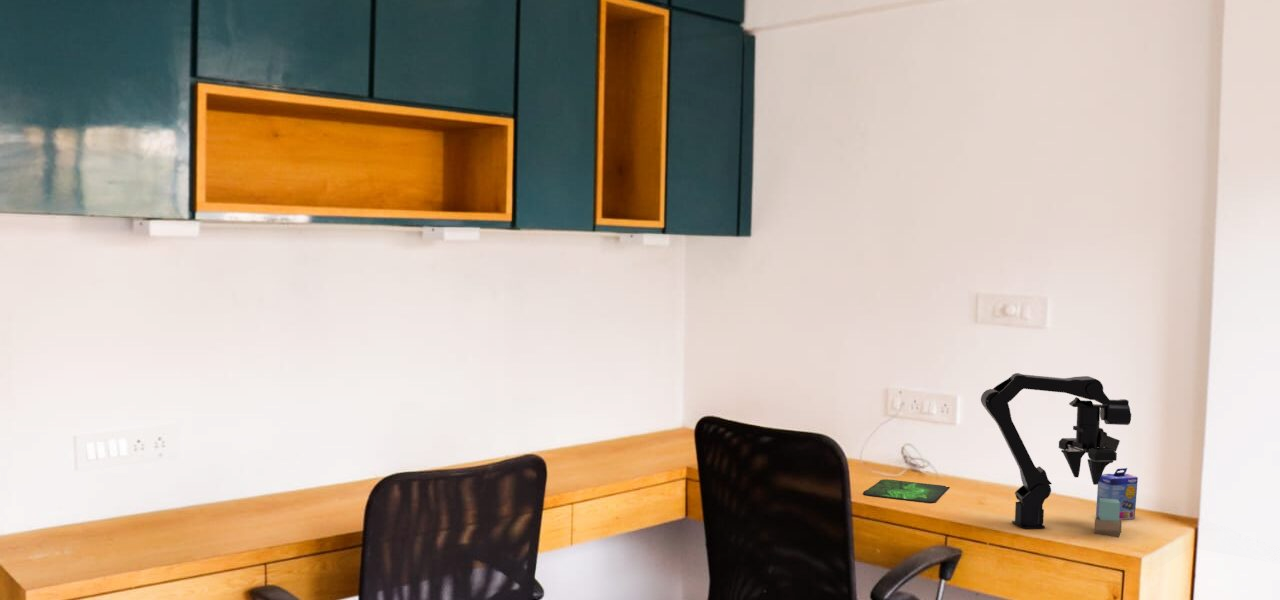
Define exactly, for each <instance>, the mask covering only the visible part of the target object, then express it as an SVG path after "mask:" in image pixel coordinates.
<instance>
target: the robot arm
mask: <svg viewBox="0 0 1280 600" xmlns="http://www.w3.org/2000/svg"><path fill="white" fill-rule="evenodd" d="M1023 390H1032V391H1034V390H1035V391H1045V392H1053V393H1064V394H1069V395H1073V396H1075V398H1074V399H1073V400H1072V401H1070V402H1069V403H1068V405H1069V406H1071V407H1073V408H1076V425H1073V426H1072V430H1073V431H1075V432H1076V433H1075V437H1065V438H1064V437H1062V438H1060V440H1059V441H1058V449H1060V450H1061V453H1062V454H1063V456H1064V457H1065V460H1066V462H1067V464H1068V466H1069V468H1070V470H1071V474H1072V475H1073V477H1074V478H1079V476H1080V470H1081V464H1082V463H1081V462H1082V458H1083V456H1084V455H1085V454H1087V456H1088V459H1087V465H1088V468H1089V472H1090V478H1091V481H1092V484H1093V485H1094V486H1098V483H1099V480H1100V478H1101V475H1102V474H1103V473H1104V471H1105V469H1106V467H1107V466H1108V465H1109V464H1113V462H1114V461H1115V462H1116V461H1117V460H1118V459H1117V457H1118V456H1117V455H1118V452H1117V450H1118V447H1119V445H1120V443H1121V440H1119V439H1118V438H1116V437H1115V438H1114V437H1112V436H1110V435H1108V433H1107V432H1106V431H1105V430H1104V429H1103V428H1101V427H1100V421H1104V424H1105V425H1116V426H1117V425H1118V426H1120V425H1121V426H1129V425H1130V424H1131V420H1132V413H1131V408H1130V405H1129V404H1130V403H1129V400H1128V399H1122V398H1121V399H1110V398H1109V397H1108V396H1107V394H1106V393H1105V392H1104V386H1103V383H1102V382H1101V381H1100V380H1099V379H1096V378H1094V377H1091V376H1088V375H1083V376H1073V377H1072V376H1071V377H1065V378H1064V377H1055V376H1054V377H1052V376H1043V375H1033V374H1032V375H1031V374H1022V373H1019V372H1017V373H1016V372H1015V373H1014V374H1012V375H1011V376H1010V377H1009V378H1007V379H1005V380H1004V381H1002V382H1000V383H999V384H997V385H996V386H994V387H993V388H989V389H985V390H984V392H983V393H982V394H981V397H980V402H981V404H982V406H983V408H984V409H985V410H986V411H987V413H988V414H989V416H990V418H992V419H993V420H994V422H995V423H996V425H997V426H998V428H999V430H1000V432H1001V434H1002V436H1003V438H1004V441H1005V442H1006V445H1007V446H1008V448H1009V451H1010V453H1011V455H1012V456H1013V458H1014V461H1015V463H1016V465H1017V466H1018V469H1019V474H1020V478H1021V483H1022V485H1021V486H1020V487H1019V488H1018V489H1016V491H1015V492H1014V495H1015V498H1016V499H1017V500H1018V501H1016V502H1015V509H1014V510H1015V511H1014V512H1015V513H1014V515H1015V516H1014V520H1012V521H1011V524H1014V525H1016V526H1017V527H1019V528H1022V529H1044V528H1046V526H1045V525H1044V515H1045V513H1044V511H1045V510H1044V508H1043V506H1044V502H1045V500H1046V499H1048V498H1049V497H1050V496H1051V492H1052V488H1051V485H1052V484H1053V483H1052V482H1051V481H1050V480H1049V478H1048V476H1047V472H1046V470H1045V469H1044V468H1042V467H1041V466H1038V467H1036V465H1035V464H1034V462H1033V460H1032V458H1031V456H1030V454H1029V451H1028V449H1027V448H1026V446H1025V443H1024V442H1023V440H1022V438H1021V435H1020V434H1019V431H1018V430H1017V428H1016V426H1015V424H1014V422H1013V420H1012V415H1011V409H1010V405H1009V402H1011V401H1012V400H1013V399H1014V398H1015V397H1016V396H1017V395H1018V394H1019V393H1020V392H1021V391H1023ZM1078 397H1079V398H1078ZM1080 398H1082V399H1086V400H1082V399H1080ZM1093 401H1095V402H1098V403H1099V404H1097V403H1096V404H1095V403H1093Z"/></svg>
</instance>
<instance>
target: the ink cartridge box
mask: <svg viewBox="0 0 1280 600" xmlns="http://www.w3.org/2000/svg"><path fill="white" fill-rule="evenodd" d="M1122 471H1123V472H1122ZM1127 471H1128V467H1124V468H1122V467H1121V468H1117V469H1116V470H1115V472H1114V473H1104V474H1103V473H1102V475H1101V478H1100V480H1099V483H1098V484H1097V493H1096V494H1097V496H1096V510H1095V516H1096V517H1097V515H1099V500H1100V498H1106V499H1118V500H1119V503H1120V512H1119V518H1122V521H1124V520H1134V519H1136V507H1137V493H1138V481H1139V480H1138V479H1139V478H1138V476H1136V475H1132V474H1129V473H1126V472H1127Z"/></svg>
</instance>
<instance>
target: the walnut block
mask: <svg viewBox="0 0 1280 600" xmlns="http://www.w3.org/2000/svg"><path fill="white" fill-rule="evenodd" d="M1122 522H1123V520H1122V518H1119V522H1114V521H1103V520H1100V518H1099V515H1097V516H1096V517H1095V519H1094V528H1093V529H1094V530H1093V531H1094V532H1093V533H1094V534H1095V535H1099V534H1100V535H1099V536H1106V535H1107V537H1114V538H1115V537H1116V538H1119V537H1120V535H1121V534H1122ZM1120 533H1121V534H1120Z"/></svg>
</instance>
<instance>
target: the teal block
mask: <svg viewBox="0 0 1280 600" xmlns="http://www.w3.org/2000/svg"><path fill="white" fill-rule="evenodd" d="M1119 512H1120V503H1119V500H1118V499H1106V498H1100V500H1099V518H1100V520H1103V521H1114V522H1119Z"/></svg>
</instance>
